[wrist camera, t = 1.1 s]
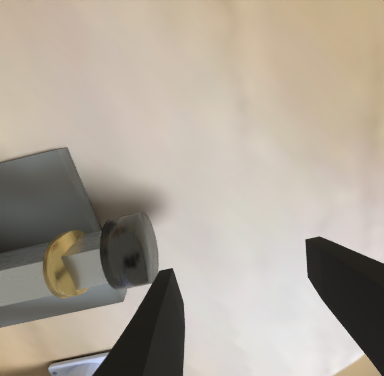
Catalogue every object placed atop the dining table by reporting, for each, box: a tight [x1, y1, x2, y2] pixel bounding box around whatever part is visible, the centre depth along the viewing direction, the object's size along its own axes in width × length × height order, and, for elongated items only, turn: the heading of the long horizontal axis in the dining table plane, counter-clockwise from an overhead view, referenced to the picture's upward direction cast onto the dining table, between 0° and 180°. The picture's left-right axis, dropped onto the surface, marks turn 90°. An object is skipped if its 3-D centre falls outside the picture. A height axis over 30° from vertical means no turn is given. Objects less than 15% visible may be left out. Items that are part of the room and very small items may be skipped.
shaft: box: [0, 212, 158, 306], centre depth 13 cm, size 4×18×4 cm, turn 103°
